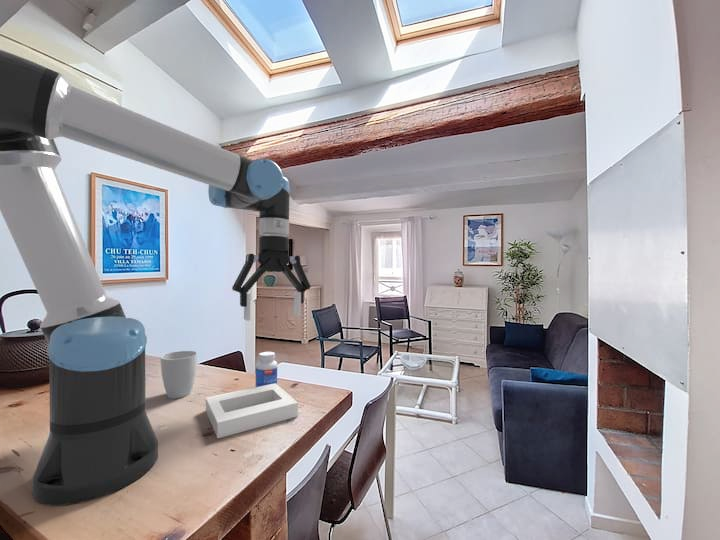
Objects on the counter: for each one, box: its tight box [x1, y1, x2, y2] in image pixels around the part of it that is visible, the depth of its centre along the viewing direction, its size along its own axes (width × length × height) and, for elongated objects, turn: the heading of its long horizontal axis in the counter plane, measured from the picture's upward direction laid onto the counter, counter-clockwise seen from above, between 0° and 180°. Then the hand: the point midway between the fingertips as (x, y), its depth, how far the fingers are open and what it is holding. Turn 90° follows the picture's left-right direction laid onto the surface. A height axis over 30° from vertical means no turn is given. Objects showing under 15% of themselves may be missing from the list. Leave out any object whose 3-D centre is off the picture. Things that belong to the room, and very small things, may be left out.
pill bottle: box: [255, 351, 278, 387], centre depth 83 cm, size 6×5×10 cm
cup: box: [159, 350, 198, 399], centre depth 81 cm, size 8×8×10 cm
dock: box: [205, 383, 299, 439], centre depth 73 cm, size 16×20×3 cm
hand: (273, 317), depth 83 cm, fingers open, 13 cm apart
